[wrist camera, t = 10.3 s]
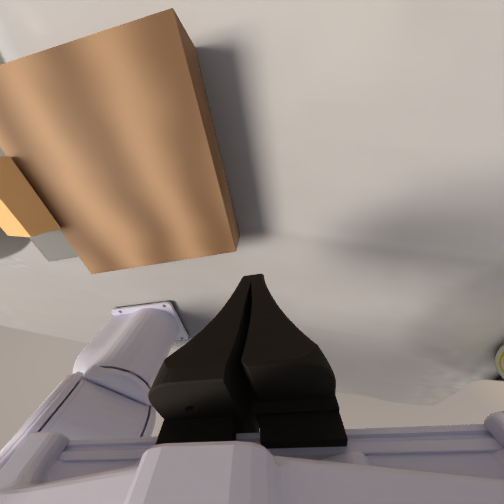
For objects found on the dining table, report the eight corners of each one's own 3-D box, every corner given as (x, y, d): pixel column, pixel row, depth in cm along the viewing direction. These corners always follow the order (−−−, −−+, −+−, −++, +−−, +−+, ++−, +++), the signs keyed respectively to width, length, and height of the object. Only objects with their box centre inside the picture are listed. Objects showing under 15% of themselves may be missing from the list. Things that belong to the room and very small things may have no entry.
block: (33, 228, 21) (8, 235, 19) (-10, 173, 18) (-43, 176, 17) (60, 228, 17) (31, 237, 15) (9, 155, 14) (-33, 158, 12)
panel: (117, 256, 23) (91, 274, 19) (21, 98, 16) (-48, 80, 12) (239, 235, 21) (235, 251, 17) (194, 46, 14) (172, 7, 10)
